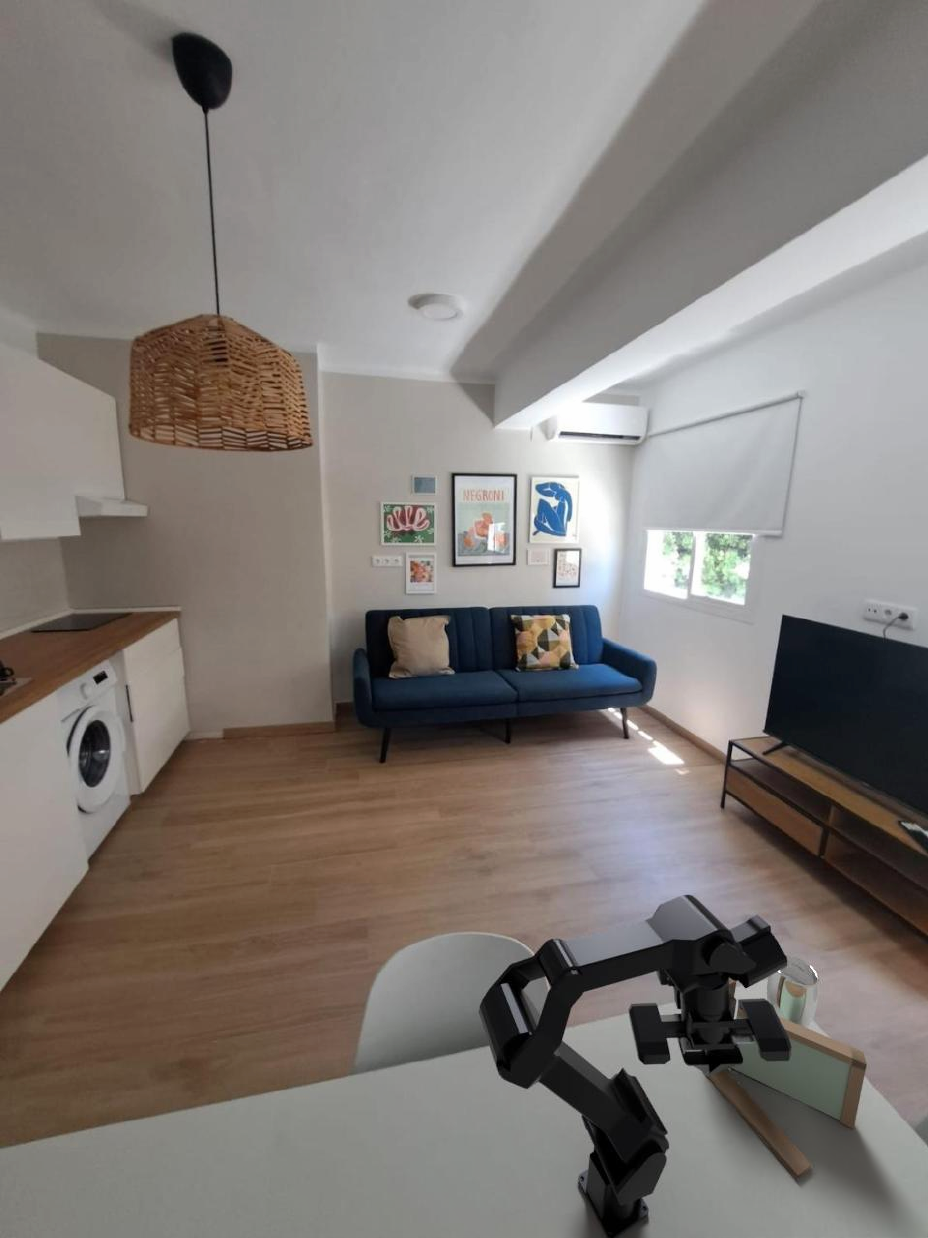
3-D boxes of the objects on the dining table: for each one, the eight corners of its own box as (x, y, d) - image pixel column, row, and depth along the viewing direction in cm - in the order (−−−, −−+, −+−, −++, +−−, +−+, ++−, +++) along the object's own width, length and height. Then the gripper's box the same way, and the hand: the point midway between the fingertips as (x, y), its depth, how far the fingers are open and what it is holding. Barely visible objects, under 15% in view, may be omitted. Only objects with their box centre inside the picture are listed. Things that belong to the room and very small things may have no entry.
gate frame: (797, 1180, 66) (813, 1094, 63) (685, 1050, 82) (695, 978, 80) (824, 1158, 68) (840, 1074, 66) (710, 1036, 85) (720, 966, 82)
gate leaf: (730, 1068, 79) (739, 1009, 77) (730, 1057, 81) (738, 999, 79) (853, 1128, 72) (866, 1064, 70) (850, 1115, 73) (863, 1052, 72)
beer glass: (792, 1028, 87) (805, 954, 84) (816, 1069, 80) (831, 990, 78) (751, 1023, 87) (763, 949, 85) (772, 1063, 81) (785, 985, 78)
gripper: (750, 929, 68) (750, 1005, 73) (615, 937, 71) (623, 1010, 76) (795, 1015, 58) (792, 1098, 63) (635, 1021, 60) (643, 1100, 65)
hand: (707, 1071), depth 67 cm, fingers closed
